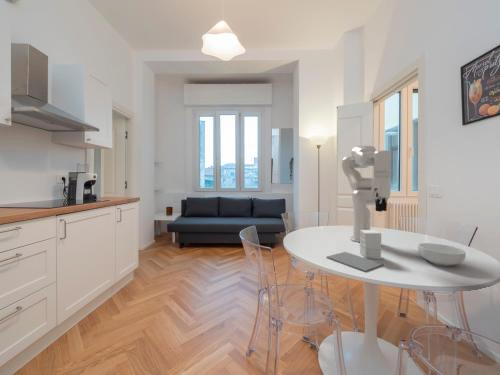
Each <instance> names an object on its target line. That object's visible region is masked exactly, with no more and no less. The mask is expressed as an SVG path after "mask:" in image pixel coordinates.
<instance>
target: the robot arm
mask: <svg viewBox="0 0 500 375" xmlns="http://www.w3.org/2000/svg"><path fill="white" fill-rule="evenodd" d="M391 163H392V153H391V151H390V150H377V149H376V147H374V146H373V145H357V146H354V147H353V148H352V149H351V152H350V155H348V156H345V157H344V158H342V160H341V168H342V172H343V174H344V175H345V177H346V178H347V180H348V182H349V183H348V184H349V186H350V188H351V190H352V191H353V192H352V195H351V198H352V206H353V224H352V225H353V228H352V230H353V231H352V232H353V233H352V236H350V240H351V241H354V242H356V243H360V230H371V215H372V214H371V211H370V209H369V207H368V206H375V207H374V208H375V211H376V212H387V210H388V209H387V208H388V207H387V206H388V204H387V203H388V200H389V198H390V196H391V179H390V178H391V171H392V170H391V167H392V166H391ZM369 167H373V176H372V177H373V178H372V177H362V174H361V173H360V172H359V171H358V170H357V169H368V168H369Z"/></svg>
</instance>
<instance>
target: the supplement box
mask: <svg viewBox="0 0 500 375" xmlns="http://www.w3.org/2000/svg"><path fill="white" fill-rule="evenodd" d="M359 244H360V245H359V254H360V255H361V257H363V258H366V259H370V260H372V259H373V260H375V259H376V260H377V259H378V260H381V259H382V233H381V232H379V231H377V230H376V229H370V230H360V242H359Z"/></svg>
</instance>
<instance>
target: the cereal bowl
mask: <svg viewBox="0 0 500 375" xmlns="http://www.w3.org/2000/svg"><path fill="white" fill-rule="evenodd" d="M417 247H418V248H417V249H418V251H417V252H418V254H419V255H420V256H421V257H422V258H423V259H425V260H427V261H429V262H430V263H431V264H433V265H437V266H441V267H451V266H454V265H455V266H456V265H459V264H462V263H463V262H464V261H465V259H466V254H467V252H466V251H465V250H464V249H461V248H459V247H455V246H452V245H447V244H441V243H440V244H439V243H432V242H431V243H429V242H428V243H427V242H425V243H424V242H423V243H419V244H418V245H417Z"/></svg>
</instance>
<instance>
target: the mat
mask: <svg viewBox="0 0 500 375" xmlns="http://www.w3.org/2000/svg"><path fill="white" fill-rule="evenodd" d="M326 258H327V259H328V258H329V260H332V261H335V262H336V263H340V264H343V265H345V266H348V267H350V268H353V269H356V270H359V271H362V272H363V273H367V272H370V271H372V270H375V269H377V268H380V267H383V266H384V263H382V262H379V261H375V260H374V259H373V260H372V259H366V258H364V257H363V256H360V255H357V254H353V253H350V252H347V251H343V252H338V253H336V254H335V253H334V254H331V255H329V256H328V255H327V256H326Z"/></svg>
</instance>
